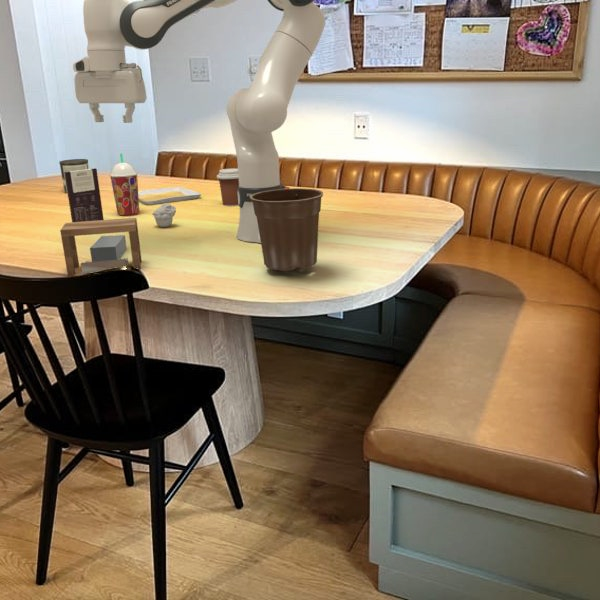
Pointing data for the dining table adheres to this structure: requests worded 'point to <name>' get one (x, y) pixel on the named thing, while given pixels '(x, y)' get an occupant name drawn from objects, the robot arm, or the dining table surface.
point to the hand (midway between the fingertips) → (113, 122)
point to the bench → (99, 228)
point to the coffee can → (72, 168)
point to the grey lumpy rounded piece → (164, 215)
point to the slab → (108, 248)
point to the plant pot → (288, 226)
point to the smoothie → (125, 188)
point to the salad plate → (187, 192)
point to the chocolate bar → (84, 195)
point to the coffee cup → (229, 186)
